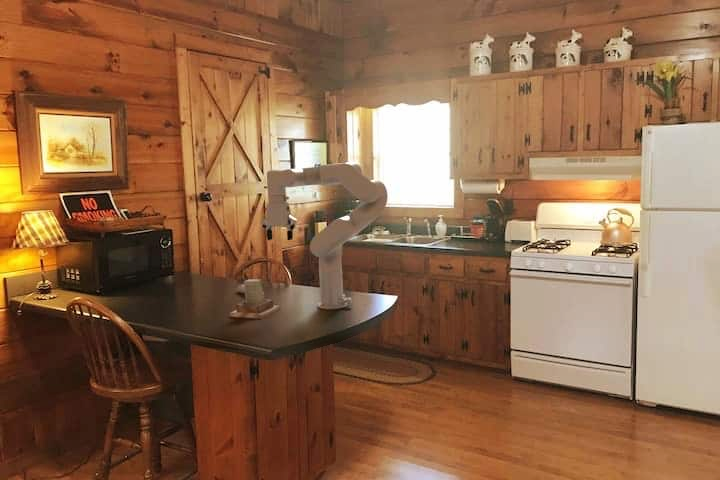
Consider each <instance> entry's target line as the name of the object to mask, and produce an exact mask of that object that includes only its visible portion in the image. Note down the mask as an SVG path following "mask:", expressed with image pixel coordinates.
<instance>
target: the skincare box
mask: <svg viewBox="0 0 720 480" xmlns="http://www.w3.org/2000/svg"><path fill="white" fill-rule="evenodd" d="M243 284H244V287H245V293H244V296H245V297H244V298H245V301H246V305H260V304H262V303H264V299H265V298H264V299H263V292H264V291H263V281H262V279H257V278H256V279H255V278H254V279H250V278H249V279H245V280H244V281H243Z"/></svg>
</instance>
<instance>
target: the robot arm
mask: <svg viewBox="0 0 720 480" xmlns="http://www.w3.org/2000/svg"><path fill="white" fill-rule="evenodd" d="M266 184H267V185H266V186H267V199H268V203H267V205H266V211H265V213H266V215H265V217H264V218H262V219H260V223H261V225H262V228H263V229H264V231H265V232H266V239H267V241H271V240H273V230H272V228H273V227H285V228H286V229H287V231H286V236H287V237H286V239H287V241H291V240H293V238H294V236H293V235H294V234H293V231H294V229H295V228H296V226H297V223H298V219H296V218H295V217H293V216H292V212H291V206H290V204H289V202H288V200H289V198H290V197H289V196H288V195H287V193H286V192H287V191H286V189H287V188H296V187H297V188H298V187H305V186H315V185H316V186H317V185H318V186H319V185H320V186H326V187H327V186H337V185H342V186H343V187H344V188H345V189H346V190H347V191H349V192H350V193H351V194H352V195H353V196H354V197H356V198H357V199H358V200H360V201H361V202H362V203H360V204H359V205H358V206H357V207H355V208H354V209H353V210H351V211H350V212H349V213H348V214H347V215H344V216H342V217H338V218H336V219H334V220H333V221H332V222H330V223H329V224H328V225H327V226H326V227H324V228H323V229H322V230H321V231H319V232H318V233H317V234H315V235H314V236H313V238H312V239H311V241H310V243H309V244H310V245H309V247H310V248H309V250H310V252H311V253H312V255H314V256H315V257H316V258H317V257H318V269H319V270H318V274H319V275H318V276H319V289H320V290H319V294H320V302H318V303H317V305H316V306H317V308H319V309H320V310H321V309H322V310H338V309H343V308H346V307H347V306H348V304H352V303H353V299H352V297H346V294H345V293H344V286H343V266H342V265H343V263H342V262H343V261H342V258H343V255H342V254H343V245H344V244H345V243H346V242H347V241H349V240H352V239H354V237H356V236H357V235H358V234H359V233H360V232H361V231H362V230H364V229H366V227H368V226H369V225H370V224H372V222H374V221H375V220H376V219H377V218H378V217H379V216H380V215H381V214H382V213H383V212H384V211H385V208H386V206H387V203H388V190H387V188H386V185H385V184H384V183H383V182H382V181H380V180H377V179H372V180H370V179H369V178H368V177H366V176H365V175H364V174H363V170H362V167H361V166H360V165H359V164H358V163H356V162H351V161H350V162H342V163H329V164H320V165H319V166H312V167H301V168H288V169H283V170H281V169H274V170H272V169H271V170H268V171H267V172H266Z"/></svg>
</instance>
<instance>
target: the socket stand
mask: <svg viewBox="0 0 720 480" xmlns="http://www.w3.org/2000/svg"><path fill="white" fill-rule="evenodd" d="M235 306H236V310H233V311H231V312H229V317H231V318H247V319H264V318H266V317H268V316H270V315H272V314H274V313H277V312H278V311H281V305H274V299H265V298H264V303H262V304H260V305H246V300H244V301H241V302H239V303H237V304H236V305H235Z"/></svg>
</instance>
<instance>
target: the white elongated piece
mask: <svg viewBox="0 0 720 480" xmlns="http://www.w3.org/2000/svg"><path fill="white" fill-rule="evenodd" d="M236 291H237V293H241V294H245V287H244V283H243V284H242V283H241V284H238V285H237V287H236ZM263 299H265V292H264V291H263Z"/></svg>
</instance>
